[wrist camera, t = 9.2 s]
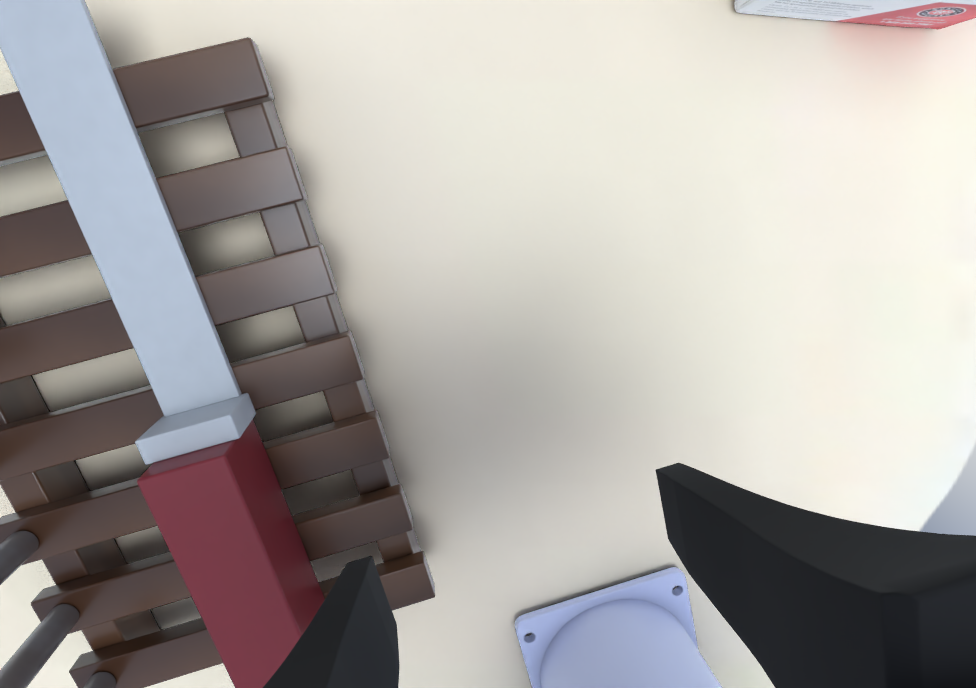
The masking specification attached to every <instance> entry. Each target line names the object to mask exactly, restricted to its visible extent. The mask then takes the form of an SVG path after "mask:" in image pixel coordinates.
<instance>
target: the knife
mask: <svg viewBox="0 0 976 688" xmlns="http://www.w3.org/2000/svg"><path fill="white" fill-rule="evenodd" d="M0 49H1V51H2V54H3V56H4V58H5V60H6V62H7V65H8V67H9V69H10V71H11V74H12V76H13V78H14V80H15V83H16V85H17V87H18V89H19V92H20V94H21V96H22V98H23V101H24V103H25V105H26V107H27V109H28V112H29V114H30V116H31V118H32V121H33V123H34V125H35V127H36V130H37V132H38V134H39V136H40V139H41V141H42V143H43V145H44V147H45V150H46V152H47V154H48V156H49V159H50V161H51V163H52V165H53V168H54V170H55V172H56V174H57V177H58V179H59V181H60V183H61V186H62V188H63V190H64V192H65V194H66V197H67V199H68V201H69V203H70V206H71V208H72V210H73V212H74V215H75V217H76V219H77V221H78V224H79V226H80V228H81V230H82V233H83V235H84V237H85V239H86V241H87V244H88V246H89V248H90V250H91V253H92V255H93V257H94V259H95V262H96V264H97V266H98V268H99V271H100V273H101V275H102V277H103V280H104V282H105V284H106V286H107V288H108V291H109V293H110V295H111V297H112V300H113V302H114V304H115V306H116V309H117V311H118V313H119V315H120V318H121V320H122V322H123V324H124V327H125V329H126V331H127V333H128V335H129V338H130V340H131V342H132V344H133V347H134V349H135V351H136V353H137V356H138V358H139V360H140V362H141V365H142V367H143V369H144V371H145V374H146V376H147V378H148V380H149V382H150V385H151V387H152V389H153V391H154V394H155V396H156V398H157V400H158V403H159V405H160V407H161V409H162V412H163V414H164V416H163V417H161V418H160V419H159V420H158V421H157V422H156V423H155V424H154V425H153V426H151V427H150V428H149V429H148V430H147V431H146V432H145V433H144V434H143V435H142V436H140V437H139V438H138V439H137V440H136V441H135V444H136V446H137V448H138V450H139V452H140V454H141V456H142V459H143V461H144V463H145V464H146V465H147V464H151V463H153V464H152V465H151V466H150V467H149V468H148V469H147V470H146V471H145V472H144V473H143V474H142V475H141V476H140V477H139V478H138V480H137V484H138V486H139V488H140V490H141V492H142V494H143V496H144V498H145V501H146V503H147V505H148V507H149V509H150V511H151V513H152V515H153V517H154V519H155V521H156V523H157V526H158V528H159V530H160V532H161V534H162V536H163V538H164V540H165V542H166V544H167V546H168V549H169V551H170V553H171V555H172V557H173V559H174V561H175V563H176V565H177V567H178V569H179V571H180V574H181V576H182V578H183V580H184V582H185V584H186V586H187V588H188V590H189V592H190V594H191V596H192V599H193V601H194V603H195V605H196V607H197V609H198V611H199V613H200V615H201V617H202V619H203V622H204V624H205V626H206V628H207V630H208V632H209V634H210V636H211V638H212V640H213V642H214V644H215V647H216V649H217V651H218V653H219V655H220V657H221V659H222V661H223V663H224V665H225V667H226V669H227V672H228V674H229V676H230V678H231V680H232V682H233V684H234V686H235V688H263V687H264V686H265V684H266V683H267V682H268V681H269V680H270V678H271V677H272V676H273V675H274V673H275V672H276V671H277V669H278V668H279V667H280V666H281V664H282V663H283V662H284V660H285V659H286V657H287V656H288V655H289V653H290V652H291V650H292V649H293V647H294V646H295V645H296V643H297V642H298V640H299V639H300V637H301V636H302V635H303V633H304V632H305V630H306V629H307V627H308V626H309V624H310V623H311V621H312V619H313V618H314V616H315V615H316V613H317V612H318V610H319V608H320V607H321V605H322V604H323V602H324V600H325V598H324V596H323V593H322V591H321V588H320V586H319V583H318V581H317V578H316V576H315V573H314V571H313V568H312V566H311V563H310V561H309V558H308V556H307V553H306V551H305V548H304V546H303V543H302V541H301V538H300V536H299V533H298V531H297V528H296V526H295V523H294V521H293V518H292V516H291V513H290V511H289V508H288V506H287V503H286V501H285V498H284V496H283V493H282V491H281V488H280V486H279V483H278V481H277V478H276V476H275V473H274V471H273V468H272V465H271V463H270V460H269V458H268V455H267V453H266V450H265V448H264V445H263V443H262V440H261V438H260V435H259V433H258V430H257V428H256V425H255V423H254V420H253V418H254V416H255V415H256V412H255V409H254V407H253V404H252V402H251V399H250V397H249V394H248V393H244V394H241V390H240V388H239V385H238V383H237V380H236V378H235V375H234V373H233V370H232V368H231V365H230V363H229V360H228V358H227V355H226V353H225V350H224V348H223V345H222V343H221V340H220V338H219V335H218V333H217V330H216V328H215V325H214V323H213V320H212V318H211V315H210V313H209V310H208V308H207V305H206V303H205V300H204V298H203V295H202V293H201V290H200V288H199V285H198V283H197V280H196V278H195V275H194V273H193V270H192V268H191V265H190V263H189V260H188V258H187V255H186V253H185V250H184V248H183V245H182V243H181V240H180V238H179V235H178V233H177V230H176V228H175V225H174V223H173V220H172V218H171V215H170V213H169V210H168V208H167V205H166V203H165V200H164V198H163V195H162V193H161V190H160V188H159V185H158V183H157V180H156V178H155V175H154V173H153V170H152V168H151V165H150V163H149V160H148V158H147V155H146V153H145V150H144V148H143V145H142V143H141V140H140V138H139V135H138V133H137V130H136V128H135V125H134V123H133V120H132V118H131V115H130V113H129V110H128V108H127V105H126V103H125V100H124V98H123V95H122V92H121V90H120V87H119V85H118V82H117V80H116V77H115V75H114V72H113V70H112V67H111V65H110V62H109V60H108V57H107V55H106V52H105V50H104V47H103V45H102V42H101V40H100V37H99V35H98V32H97V30H96V27H95V25H94V22H93V20H92V17H91V15H90V12H89V10H88V7H87V5H86V2H85V0H0Z"/></svg>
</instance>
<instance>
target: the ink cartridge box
mask: <svg viewBox="0 0 976 688" xmlns="http://www.w3.org/2000/svg"><path fill="white" fill-rule="evenodd" d="M734 6H735V10H736V12H739V13H745V14H757V15H768V16H779V17H791V18H802V19H813V20H826V21H840V22H851V23H865V24H877V25H887V26H900V27H918V28H932V29H942V28H945V27H948V26H951V25H954V24H957V23H960V22H964V21H967V20H970V19H973V18H976V0H735V5H734Z"/></svg>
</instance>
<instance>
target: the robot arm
mask: <svg viewBox="0 0 976 688" xmlns="http://www.w3.org/2000/svg"><path fill="white" fill-rule="evenodd" d="M656 474H657V479H658V485H659V490H660V496H661V501H662V507H663V512H664V518H665V523H666V529H667V534H668V539H669V541H670V543H671V544H672V546H673V548H674V550H675V551H676V553H677V555H678V556H679V558H680V560H681V561H682V563H683V564H684V566H685V568H686V569H687V571H688V573H689V574H690V575H691V577H692V578H693V579H694V581H695V582H696V583H697V584H698V586H699V587H700V588H701V589H702V591H703V592H704V593H705V595H706V596H707V597H708V598H709V600H710V601H711V602H712V603H713V605H714V606H715V607H716V608H717V610H718V611H719V612H720V613H721V615H722V616H723V617H724V618H725V620H726V621H727V622H728V623H729V625H730V626H731V627H732V628H733V630H734V631H735V632H736V633H737V635H738V636H739V637H740V638H741V640H742V641H743V642H744V643H745V645H746V646H747V647H748V648H749V650H750V651H751V653H752V654H753V655H754V657H755V658H756V659H757V661H758V662H759V663H760V665H761V666H762V668H763V669H764V671H765V672H766V674H767V675H768V677H769V678H770V680H771V682H772V683H773V685H774V686H775V688H976V536H969V535H967V536H966V535H948V534H937V533H928V532H918V531H909V530H901V529H894V528H887V527H881V526H875V525H870V524H864V523H859V522H853V521H848V520H844V519H839V518H835V517H831V516H827V515H823V514H819V513H815V512H811V511H807V510H804V509H800V508H797V507H794V506H790V505H787V504H784V503H781V502H778V501H775V500H772V499H769V498H766V497H764V496H761V495H758V494H755V493H753V492H750V491H748V490H745V489H742V488H740V487H737V486H735V485H732V484H730V483H727V482H725V481H723V480H720V479H718V478H715V477H713V476H711V475H708V474H706V473H704V472H701V471H699V470H697V469H694V468H692V467H689V466H687V465H684V464H681V463H676V464H673V465H670V466H666V467H663V468H660V469H657V470H656ZM675 586H678V587H677V588H676V589H674V590H672V589H673V588H674V587H675ZM515 629H516V633H517V637H518V640H519V643H520V647H521V650H522V654H523V657H524V661H525V664H526V668H527V671H528V675H529V678H530V682H531V685H532V688H722V686H721V685H720V683H719V682H718V680H717V679H716V677H715V675H714V674H713V672H712V671H711V669H710V668H709V666H708V665H707V663H706V661H705V660H704V658H703V657H702V655H701V654H700V652H699V651H698V645H697V639H696V634H695V628H694V622H693V617H692V611H691V605H690V600H689V594H688V588H687V583H686V577H685V575H684V573H683V572H682V571H681V570H680V569H679V568H676V567H672V568H668V569H665V570H662V571H659V572H655V573H652V574H649V575H646V576H643V577H640V578H636V579H633V580H630V581H627V582H624V583H621V584H617V585H614V586H611V587H608V588H605V589H602V590H598V591H595V592H592V593H589V594H586V595H583V596H580V597H576V598H573V599H570V600H567V601H564V602H561V603H557V604H554V605H551V606H548V607H545V608H542V609H538V610H535V611H532V612H529V613H526V614H523V615H521V616H519V617H518V618H517V619H516V621H515ZM528 633H532V635H530V636H525V635H526V634H528ZM398 682H399V652H398V637H397V624H396V621H395V618H394V616H393V613H392V610H391V607H390V605H389V602H388V599H387V596H386V593H385V591H384V588H383V585H382V582H381V580H380V577H379V574H378V571H377V569H376V566H375V563H374V560H373V557H372V556H369V557H366V558H363V559H359V560H356V561H353V562H350V563H347V564H346V566H345V567H344V569H343V570H342V572H341V574H340V575H339V577H338V579H337V580H336V582H335V584H334V585H333V587H332V589H331V590H330V592H329V594H328V595H327V597H326V599H325V600H324V602H323V604H322V605H321V607H320V608H319V610H318V612H317V613H316V615H315V616H314V618H313V619H312V621H311V623H310V624H309V626H308V627H307V629H306V630H305V632H304V633H303V635H302V636H301V637H300V639H299V640H298V642H297V643H296V645H295V646H294V647H293V649H292V650H291V652H290V653H289V655H288V656H287V657H286V659H285V660H284V662H283V663H282V664H281V666H280V667H279V668H278V669H277V671H276V672H275V673H274V675H273V676H272V677H271V678H270V680H269V681H268V682H267V683H266V684H265V686H264V687H263V688H398Z"/></svg>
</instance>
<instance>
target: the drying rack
mask: <svg viewBox="0 0 976 688" xmlns="http://www.w3.org/2000/svg"><path fill="white" fill-rule="evenodd" d="M112 70H113V72H114V75H115V77H116V80H117V82H118V85H119V87H120V90H121V92H122V95H123V98H124V100H125V103H126V105H127V108H128V110H129V113H130V115H131V118H132V120H133V123H134V125H135V128H136V130H137V133H140V132H144V131H148V130H153V129H157V128H161V127H165V126H169V125H173V124H177V123H182V122H186V121H190V120H194V119H198V118H202V117H206V116H210V115H215V114H219V113H223V112H224V114H225V117H226V119H227V122H228V125H229V128H230V131H231V134H232V136H233V139H234V142H235V145H236V148H237V150H238V153H239V156H240V158H236V159H232V160H227V161H223V162H219V163H215V164H211V165H207V166H203V167H199V168H195V169H191V170H187V171H183V172H179V173H175V174H171V175H167V176H163V177H159V178H156V180H157V183H158V185H159V188H160V190H161V193H162V195H163V198H164V200H165V203H166V205H167V208H168V210H169V213H170V215H171V218H172V220H173V223H174V225H175V228H176V230H177V233H179V232H183V231H187V230H191V229H195V228H199V227H203V226H207V225H211V224H215V223H219V222H222V221H226V220H230V219H234V218H238V217H242V216H246V215H250V214H254V213H258V212H259V213H260V215H261V218H262V221H263V224H264V227H265V229H266V232H267V235H268V238H269V241H270V244H271V246H272V249H273V252H274V255H275V256H271V257H267V258H263V259H259V260H256V261H252V262H248V263H244V264H240V265H236V266H233V267H229V268H225V269H221V270H217V271H213V272H210V273H206V274H202V275H198V276H195V278H196V280H197V283H198V285H199V288H200V290H201V293H202V295H203V298H204V300H205V303H206V305H207V308H208V310H209V313H210V315H211V318H212V320H213V323H214V325H215V326H217V325H221V324H225V323H228V322H232V321H236V320H240V319H243V318H247V317H251V316H254V315H258V314H262V313H266V312H269V311H273V310H277V309H281V308H284V307H288V306H293V308H294V311H295V314H296V317H297V320H298V322H299V325H300V328H301V331H302V334H303V337H304V339H305V343H302V344H298V345H294V346H291V347H287V348H284V349H280V350H276V351H273V352H269V353H265V354H262V355H258V356H254V357H251V358H247V359H243V360H240V361H236V362H232V363H230V365H231V368H232V370H233V373H234V375H235V378H236V380H237V383H238V385H239V388H240V390H241V394H244V393H248V394H249V397H250V399H251V402H252V404H253V407H254V409H255V410H257V409H260V408H264V407H267V406H271V405H274V404H278V403H282V402H285V401H289V400H292V399H296V398H299V397H303V396H306V395H310V394H314V393H317V392H321V391H323V393H324V396H325V399H326V401H327V404H328V407H329V410H330V413H331V416H332V418H333V421H334V422H332V423H329V424H325V425H322V426H318V427H315V428H311V429H308V430H304V431H301V432H297V433H294V434H290V435H287V436H283V437H280V438H276V439H273V440H269V441H266V442H262V443H263V445H264V448H265V450H266V453H267V455H268V458H269V460H270V463H271V465H272V468H273V471H274V473H275V476H276V478H277V481H278V483H279V486H280V488H281V489H285V488H288V487H292V486H295V485H299V484H302V483H306V482H309V481H312V480H316V479H319V478H323V477H326V476H330V475H333V474H336V473H340V472H343V471H347V470H350V469H351V472H352V475H353V478H354V480H355V483H356V486H357V489H358V492H359V494H360V496H357V497H353V498H350V499H346V500H343V501H340V502H336V503H333V504H330V505H326V506H323V507H319V508H316V509H313V510H309V511H306V512H302V513H299V514H296V515H292V518H293V521H294V523H295V526H296V528H297V531H298V533H299V536H300V538H301V541H302V543H303V546H304V548H305V551H306V553H307V556H308V558H309V561H312V560H315V559H318V558H322V557H325V556H328V555H332V554H335V553H338V552H342V551H345V550H348V549H352V548H355V547H358V546H362V545H365V544H368V543H372V542H375V541H376V542H377V545H378V548H379V551H380V554H381V557H382V559H383V562H384V563H380V564H377V565H375V566H376V569H377V571H378V574H379V577H380V580H381V582H382V585H383V588H384V591H385V593H386V596H387V599H388V602H389V605H390V607H391V610H395V609H398V608H402V607H405V606H408V605H411V604H415V603H418V602H421V601H424V600H427V599H431V598H434V597H435V586H434V581H433V578H432V575H431V572H430V569H429V566H428V563H427V560H426V557H425V554H424V551H421V549H420V546H419V543H418V540H417V537H416V534H415V530H414V527H413V518H412V515H411V512H410V508H409V505H408V502H407V499H406V496H405V493H404V490H403V487H402V485H401V484H399V482H398V479H397V476H396V473H395V470H394V467H393V464H392V461H391V458H390V455H389V453H390V447H389V444H388V441H387V438H386V435H385V432H384V429H383V426H382V423H381V420H380V417H379V414H378V411H377V410H375V409H374V406H373V403H372V400H371V397H370V394H369V391H368V388H367V385H366V382H365V379H364V373H365V371H364V368H363V365H362V362H361V359H360V356H359V353H358V350H357V347H356V344H355V341H354V338H353V335H352V332H351V331H349V330H348V327H347V324H346V321H345V318H344V315H343V312H342V309H341V306H340V303H339V300H338V297H337V294H336V291H337V286H336V283H335V280H334V277H333V274H332V271H331V268H330V264H329V261H328V258H327V255H326V252H325V249H324V246H323V244H321V243H320V242H319V239H318V236H317V233H316V230H315V227H314V224H313V221H312V218H311V215H310V212H309V209H308V206H307V203H306V200H307V195H306V192H305V189H304V185H303V182H302V179H301V176H300V173H299V170H298V167H297V164H296V161H295V158H294V155H293V152H292V150H291V148H288V145H287V142H286V139H285V136H284V133H283V130H282V127H281V124H280V121H279V118H278V115H277V112H276V109H275V106H274V103H273V100H274V94H273V91H272V88H271V85H270V82H269V79H268V76H267V73H266V70H265V67H264V64H263V61H262V58H261V55H260V52H259V49H258V46H257V44H256V43H255V42H254V41H253V40H252V39H251V38H248V37H247V38H243V39H239V40H235V41H230V42H226V43H222V44H217V45H213V46H209V47H205V48H200V49H196V50H192V51H188V52H183V53H179V54H175V55H170V56H166V57H162V58H158V59H153V60H149V61H145V62H140V63H136V64H132V65H128V66H123V67H119V68H115V69H112ZM45 155H48V154H47V152H46V150H45V147H44V145H43V143H42V141H41V139H40V136H39V134H38V132H37V130H36V127H35V125H34V123H33V121H32V118H31V116H30V114H29V112H28V109H27V107H26V105H25V103H24V101H23V98H22V96H21V94H20V92H19V91H16V92H12V93H8V94H3V95H0V166H4V165H8V164H12V163H16V162H20V161H25V160H29V159H33V158H37V157H41V156H45ZM90 255H92V253H91V250H90V248H89V246H88V244H87V241H86V239H85V237H84V235H83V233H82V230H81V228H80V226H79V224H78V221H77V219H76V217H75V215H74V212H73V210H72V208H71V206H70V203H69V201H68V200H66V201H62V202H58V203H54V204H50V205H46V206H42V207H38V208H34V209H30V210H26V211H22V212H18V213H14V214H10V215H6V216H2V217H0V278H3V277H7V276H11V275H15V274H19V273H23V272H27V271H31V270H35V269H39V268H43V267H46V266H50V265H54V264H58V263H62V262H66V261H70V260H74V259H78V258H82V257H86V256H90ZM132 348H134V347H133V344H132V342H131V340H130V338H129V335H128V333H127V331H126V329H125V327H124V324H123V322H122V320H121V318H120V315H119V313H118V311H117V309H116V306H115V304H114V302H113V300H112V298H110V299H106V300H103V301H99V302H95V303H91V304H87V305H83V306H80V307H76V308H72V309H68V310H64V311H61V312H57V313H53V314H49V315H45V316H41V317H38V318H34V319H30V320H26V321H22V322H19V323H15V324H11V325H7V326H5V324H4V322H3V320H2V318H1V316H0V485H1V487H2V489H3V490H4V492H5V494H6V496H7V498H8V499H9V501H10V503H11V505H12V507H13V508H14V510H15V512H16V513H13V514H9V515H6V516H2V517H1V518H0V585H1V584H2V583H3V582H4V581H5V580H6V579H7V578H8V577H9V576H10V575H11V574H12V573H13V572H14V571H15V570H17V569H18V568H19V567H20V566H21V565H24V564H27V563H31V562H34V561H38V560H41V559H42V560H43V562H44V564H45V566H46V567H47V569H48V571H49V573H50V575H51V576H52V578H53V580H54V582H55V584H56V585H55V586H51V587H48V588H45V589H43V590H42V591H41V592H40V593H39V594H38V595H37V596H36V598H35V599H34V600H33V601H32V602H31V606H32V608H33V609H34V611H35V613H36V614H37V616H38V618H39V620H40V621H41V623H40V624H39V625H38V627H37V628H36V629H35V630H34V631H33V632H32V634H31V635H30V636H29V637H28V638H27V639H26V641H25V642H24V643H23V644H22V645H21V646H20V648H19V649H18V650H17V651H16V652H15V653H14V655H13V656H12V657H11V658H10V659H9V661H8V662H7V663H6V664H5V665H4V666H3V668H2V669H1V670H0V688H27V686H28V685H29V684H30V682H31V681H32V680H33V678H34V677H35V676H36V675H37V673H38V672H39V671H40V669H41V668H42V667H43V666H44V664H45V663H46V662H47V660H48V659H49V658H50V656H51V655H52V654H53V653H54V651H55V650H56V649H57V647H58V646H59V645H60V643H61V642H62V641H63V640H64V638H65V637H66V636H67V634H69V633H73V632H76V631H79V630H82V632H83V634H84V636H85V637H86V639H87V641H88V643H89V645H90V646H91V648H92V650H93V651H91V652H88V653H85V654H82V655H80V656H79V658H78V659H77V661H76V662H75V664H74V665H73V666H72V668H71V669H70V671H69V673H70V674H71V676H72V678H73V680H74V681H75V683H76V685H77V686H78V688H144V687H147V686H151V685H154V684H157V683H160V682H163V681H167V680H170V679H173V678H176V677H180V676H183V675H186V674H189V673H192V672H196V671H199V670H202V669H205V668H208V667H212V666H215V665H218V664H221V663H223V661H222V659H221V657H220V655H219V653H218V651H217V649H216V647H215V644H214V642H213V640H212V638H211V636H210V634H209V632H208V630H207V628H206V626H205V624H204V622H203V619H202V618H200V619H196V620H193V621H190V622H186V623H183V624H180V625H177V626H173V627H170V628H167V629H163V630H160V629H159V627H158V625H157V623H156V621H155V619H154V617H153V615H152V613H151V611H150V609H152V608H156V607H159V606H162V605H166V604H169V603H172V602H176V601H179V600H182V599H186V598H189V597H192V596H191V594H190V592H189V590H188V588H187V586H186V584H185V582H184V580H183V578H182V576H181V574H180V571H179V569H178V567H177V565H176V563H175V561H174V559H173V557H172V555H171V553H170V552H167V553H163V554H160V555H157V556H153V557H150V558H146V559H143V560H140V561H136V562H133V563H129V564H126V562H125V560H124V558H123V556H122V554H121V552H120V550H119V548H118V546H117V544H116V542H115V540H114V538H117V537H120V536H124V535H127V534H130V533H134V532H137V531H141V530H144V529H148V528H151V527H154V526H157V523H156V521H155V519H154V517H153V515H152V513H151V511H150V509H149V507H148V505H147V503H146V501H145V498H144V496H143V494H142V492H141V490H140V488H139V486H138V484H137V480H138V478H136V479H132V480H129V481H125V482H122V483H118V484H115V485H111V486H107V487H104V488H100V489H97V490H93V491H89V489H88V487H87V485H86V483H85V481H84V479H83V477H82V475H81V473H80V471H79V470H78V468H77V466H76V464H75V462H74V461H75V460H78V459H82V458H85V457H89V456H92V455H96V454H100V453H103V452H107V451H110V450H114V449H117V448H121V447H125V446H128V445H132V444H135V441H136V440H137V439H138V438H139V437H140V436H142V435H143V434H144V433H145V432H146V431H147V430H148V429H149V428H150V427H151V426H153V425H154V424H155V423H156V422H157V421H158V420H159V419H160V418H161V417H163V416H164V414H163V412H162V409H161V407H160V405H159V403H158V400H157V398H156V396H155V394H154V391H153V389H152V387H151V385H148V386H145V387H141V388H137V389H134V390H130V391H126V392H123V393H119V394H115V395H112V396H108V397H104V398H101V399H97V400H93V401H90V402H86V403H82V404H79V405H75V406H72V407H68V408H64V409H61V410H57V411H53V412H50V413H49V411H48V409H47V407H46V405H45V403H44V401H43V399H42V397H41V395H40V393H39V391H38V389H37V387H36V385H35V383H34V381H33V379H32V377H31V375H35V374H38V373H42V372H46V371H50V370H53V369H57V368H61V367H65V366H68V365H72V364H76V363H79V362H83V361H87V360H91V359H94V358H98V357H102V356H105V355H109V354H113V353H117V352H120V351H124V350H128V349H132ZM338 577H339V576H338ZM338 577H334V578H331V579H328V580H324V581H321V582H318V583H319V586H320V588H321V591H322V593H323V596H324V598H325V599H326V597H327V595H328V594H329V592H330V590H331V589H332V587H333V585H334V584H335V582H336V580H337V579H338Z"/></svg>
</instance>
